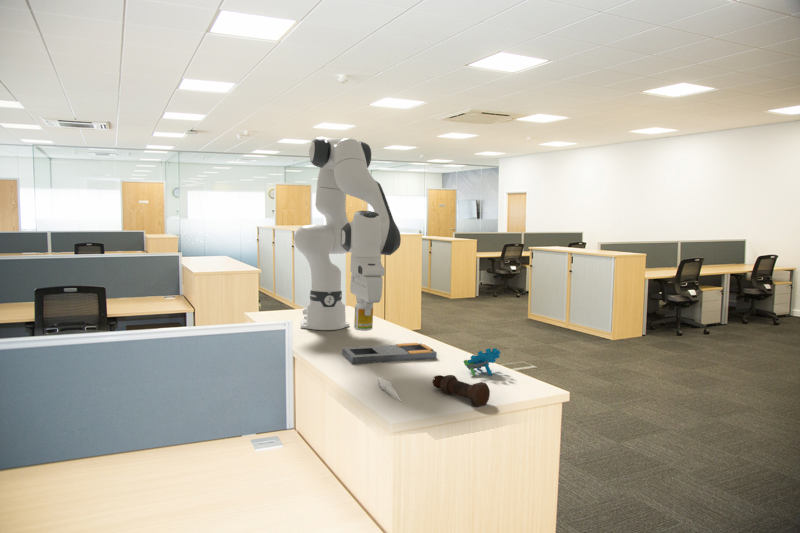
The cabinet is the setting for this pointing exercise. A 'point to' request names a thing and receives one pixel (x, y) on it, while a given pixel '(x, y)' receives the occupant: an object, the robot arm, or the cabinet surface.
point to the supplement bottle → (362, 317)
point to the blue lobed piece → (482, 360)
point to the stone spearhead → (388, 388)
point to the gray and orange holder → (388, 353)
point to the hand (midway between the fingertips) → (363, 313)
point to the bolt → (463, 389)
